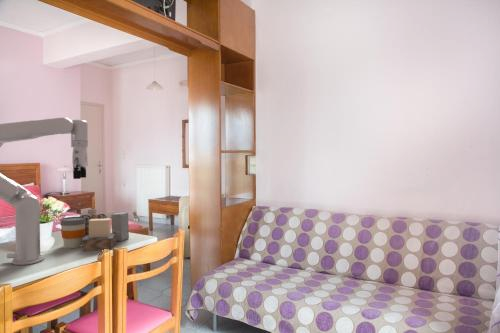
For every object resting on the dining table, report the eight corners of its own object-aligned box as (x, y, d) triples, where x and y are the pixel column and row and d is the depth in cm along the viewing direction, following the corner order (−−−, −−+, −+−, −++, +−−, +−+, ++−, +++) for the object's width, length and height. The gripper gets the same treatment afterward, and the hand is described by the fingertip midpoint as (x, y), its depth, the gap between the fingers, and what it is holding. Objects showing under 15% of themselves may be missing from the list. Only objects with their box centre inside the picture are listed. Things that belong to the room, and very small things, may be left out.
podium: (81, 250, 174) (81, 239, 174) (88, 244, 187) (88, 233, 187) (112, 249, 177) (112, 238, 177) (116, 243, 190) (116, 232, 190)
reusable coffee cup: (91, 243, 190) (90, 217, 189) (75, 249, 177) (75, 221, 177) (71, 242, 192) (71, 216, 192) (55, 247, 180) (54, 220, 180)
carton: (110, 234, 185) (110, 218, 185) (108, 236, 181) (108, 220, 180) (91, 235, 183) (91, 219, 183) (88, 237, 179) (88, 220, 178)
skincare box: (121, 241, 193) (121, 214, 193) (110, 241, 195) (110, 214, 194) (129, 238, 202) (129, 212, 201) (119, 237, 203) (118, 211, 203)
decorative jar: (76, 241, 194) (76, 210, 193) (90, 236, 205) (90, 207, 205) (94, 242, 191) (94, 211, 190) (107, 237, 202) (107, 208, 202)
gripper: (82, 143, 161) (82, 179, 162) (91, 145, 178) (92, 177, 179) (65, 143, 160) (66, 179, 160) (76, 144, 177) (77, 177, 177)
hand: (79, 178), depth 170 cm, fingers open, 9 cm apart
